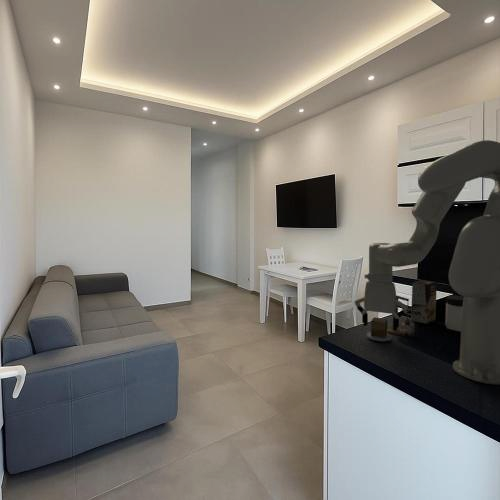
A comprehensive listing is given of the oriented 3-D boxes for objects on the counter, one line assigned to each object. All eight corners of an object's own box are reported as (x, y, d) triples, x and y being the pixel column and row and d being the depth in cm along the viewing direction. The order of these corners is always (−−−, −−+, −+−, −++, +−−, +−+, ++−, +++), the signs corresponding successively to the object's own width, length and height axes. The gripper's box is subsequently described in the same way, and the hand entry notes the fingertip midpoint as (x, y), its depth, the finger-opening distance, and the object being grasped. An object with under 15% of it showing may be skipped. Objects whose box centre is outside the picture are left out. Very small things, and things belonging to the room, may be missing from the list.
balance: (412, 337, 111) (413, 296, 110) (376, 331, 118) (377, 292, 116) (413, 333, 115) (414, 293, 114) (379, 328, 121) (379, 290, 120)
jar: (473, 333, 114) (475, 301, 113) (447, 330, 118) (449, 299, 117) (467, 326, 123) (469, 295, 122) (443, 323, 126) (444, 294, 125)
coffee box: (426, 324, 125) (428, 284, 124) (410, 320, 130) (411, 282, 129) (435, 319, 131) (437, 281, 130) (419, 316, 136) (421, 279, 135)
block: (384, 338, 107) (385, 322, 106) (370, 335, 109) (371, 320, 109) (387, 334, 111) (387, 319, 110) (373, 332, 113) (374, 317, 113)
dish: (389, 344, 105) (389, 340, 104) (364, 340, 109) (364, 336, 109) (392, 337, 111) (392, 333, 111) (369, 333, 116) (369, 329, 115)
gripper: (352, 278, 110) (352, 326, 111) (407, 282, 100) (406, 334, 102) (357, 275, 116) (357, 320, 117) (409, 278, 107) (408, 327, 108)
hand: (380, 327), depth 109 cm, fingers open, 9 cm apart
